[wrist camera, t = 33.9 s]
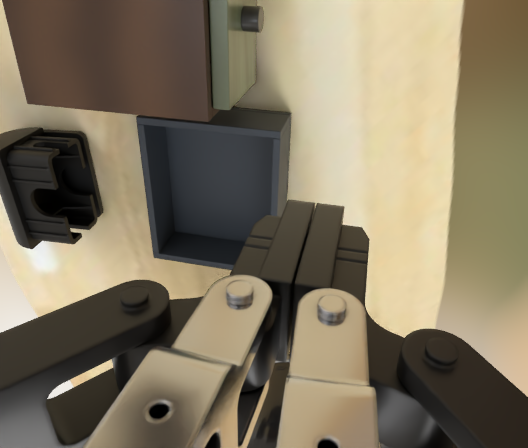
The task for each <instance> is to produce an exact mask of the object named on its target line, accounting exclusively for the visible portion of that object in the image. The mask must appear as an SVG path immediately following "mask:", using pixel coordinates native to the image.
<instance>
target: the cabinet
mask: <svg viewBox="0 0 528 448" xmlns="http://www.w3.org/2000/svg"><path fill="white" fill-rule="evenodd" d="M2 2H3V6H4V10H5V14H6V18H7V22H8V26H9V31H10V35H11V39H12V43H13V47H14V51H15V55H16V59H17V63H18V67H19V71H20V75H21V79H22V84H23V88H24V92H25V96H26V100H27V103H28V104H35V105H45V106H55V107H65V108H75V109H85V110H95V111H105V112H115V113H125V114H135V115H145V116H155V117H165V118H175V119H185V120H195V121H205V122H209V121H210V120H211V119H212V117H213V116H214V115H215V114H216V113H217V112H218V111H219V110H220V109H213V97H212V82H211V76H210V50H209V24H208V0H2Z"/></svg>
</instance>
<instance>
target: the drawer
mask: <svg viewBox="0 0 528 448" xmlns="http://www.w3.org/2000/svg"><path fill="white" fill-rule="evenodd" d="M263 21H264V13H263V8H262V7H261V6H257V0H208V24H209V50H210V76H211V82H212V97H213V109H221V110H230V109H231V108H232V107H233V106H234V105H235V104H236V103H237V102H238V101H239V100H240V98H241V97H242V96H243V95H244V94H245V93H246V92H247V91H248V90H249V89H250V88H251V87H252V86H253V85H254V84H255V82H256V32H259V33H260V32H261V31H262V28H263Z"/></svg>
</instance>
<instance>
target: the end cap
mask: <svg viewBox="0 0 528 448" xmlns="http://www.w3.org/2000/svg"><path fill="white" fill-rule="evenodd" d="M0 194H1V197H2V200H3V203H4V206H5V209H6V212H7V214H8V217H9V220H10V223H11V226H12V229H13V232H14V234H15V237H16V240H17V242H18V243H19V244H20V245H21V246H23V247H25V248H29V249H33V248H34V247H35V246H37V245H38V244H39V243H40V242H41V241H50V242H59V243H67V244H75V243H76V242H77V241H78V240H79V239H80V238H81V237H82V235H81V233H74V232H71V231H70V228H76V229H86V230H90V229H91V228H92V227H93V226H94V225H95V224H96V222H97V217H99V216H100V215H102V213H103V207H102V203H101V198H100V194H99V190H98V185H97V181H96V177H95V172H94V168H93V164H92V159H91V155H90V151H89V146H88V142H87V138H86V136H85V134H84V133H82V132H77V131H61V130H44V129H43V128H23V129H17V130H12V131H8V132H5V133H2V134H0Z"/></svg>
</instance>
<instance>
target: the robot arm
mask: <svg viewBox="0 0 528 448" xmlns="http://www.w3.org/2000/svg"><path fill="white" fill-rule="evenodd" d="M343 215H344V206H336V205H328V204H320V203H317V205H316V209H315V203H311V202H304V201H296V200H288V201H287V203H286V206H285V209H284V211H283V214H282V216H281V217H279V216H271V215H266V216H264V217H263V218H262V219H260V220H259V221H257V222H256V223H255V224H254V225H253V228H252V230H251V232H250V234H249V237H248V238H247V240H246V242H245V245H244V246H243V248H242V250H241V253H240V255H239V257H238V259H237V261H236V263H235V265H234V267H233V269H232V271H231V273H230V275H229V276H227V277H224V278H221V279H219V280H218V281H216V282H215V283H214V284H212V285H211V287H210V288H209V289H208V291H207V293H206V294H205V296H203V297H198V298H190V299H174V300H169V293H168V291H167V290H166V288H165V287H164V286H162V285H161V284H159V283H157V282H154V281H150V280H134V281H129V282H125V283H122V284H119V285H117V286H115V287H112V288H110V289H107V290H105V291H102V292H100V293H97V294H95V295H92V296H90V297H87V298H85V299H83V300H80V301H78V302H75V303H73V304H70V305H68V306H65V307H63V308H60V309H58V310H56V311H53V312H51V313H48V314H46V315H43V316H41V317H38V318H36V319H33V320H31V321H28V322H26V323H24V324H21V325H19V326H16V327H14V328H11V329H9V330H6V331H4V332H1V333H0V448H379V442H380V448H528V397H527V396H526V395H525V394H524V393H522V392H521V391H520V390H519V389H518V388H517V387H516V386H515V385H513V384H512V383H511V382H510V381H509V380H508V379H507V378H506V377H504V376H503V375H502V374H501V373H500V372H499V371H498V370H497V369H496V368H494V367H493V366H492V365H491V364H490V363H489V362H488V361H486V360H485V359H484V358H483V357H482V356H481V355H480V354H479V353H478V352H476V351H475V350H474V349H473V348H472V347H471V346H470V345H469V344H467V343H466V342H465V341H464V340H462V339H461V338H458V337H457V336H455V335H453V334H451V333H448V332H445V331H441V330H437V329H420V330H416V331H414V332H412V333H410V334H408V335H407V336H406V337H405V338H403V337H401V336H399V335H396V334H394V333H392V332H389V331H387V330H385V329H384V328H382V327H381V326H379V325H378V324H377V323H375V322H374V321H373V320H372V318H371V317H370V316H369V314H368V313H367V311H366V307H365V292H366V278H367V265H368V264H367V263H368V251H369V238H368V236H367V235H366V233H365V232H364V230H363V228H362V227H355V226H347V225H342V223H343ZM289 350H290V355H288V354H289ZM110 359H112V362H113V367H114V368H112V369H110V370H108V371H106V372H104V373H102V374H100V375H98V376H96V377H94V378H92V379H90V380H88V381H86V382H84V383H82V384H80V385H78V386H76V387H74V388H72V389H70V390H68V391H66V392H64V393H62V394H60V395H58V396H56V397H54V398H51V399H47V398H48V396H49V394H50V393H51V392H52V390H53V389H55V388H56V387H57V386H58V385H60V384H62V383H63V382H66V381H68V380H70V379H72V378H74V377H76V376H78V375H80V374H82V373H84V372H86V371H88V370H90V369H92V368H94V367H96V366H98V365H100V364H102V363H104V362H106V361H108V360H110Z"/></svg>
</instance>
